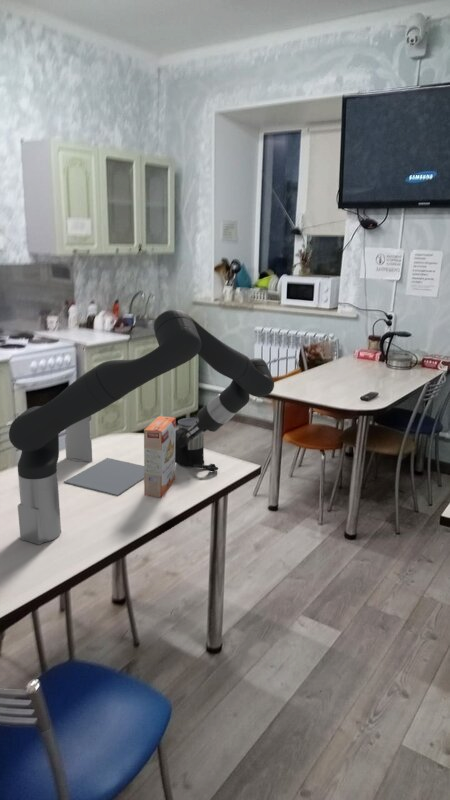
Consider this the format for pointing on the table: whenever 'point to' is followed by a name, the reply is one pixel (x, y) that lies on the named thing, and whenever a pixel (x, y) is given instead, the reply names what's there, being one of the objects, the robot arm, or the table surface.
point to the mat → (109, 476)
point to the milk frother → (190, 448)
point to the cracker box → (159, 456)
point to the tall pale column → (79, 441)
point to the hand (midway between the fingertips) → (179, 445)
